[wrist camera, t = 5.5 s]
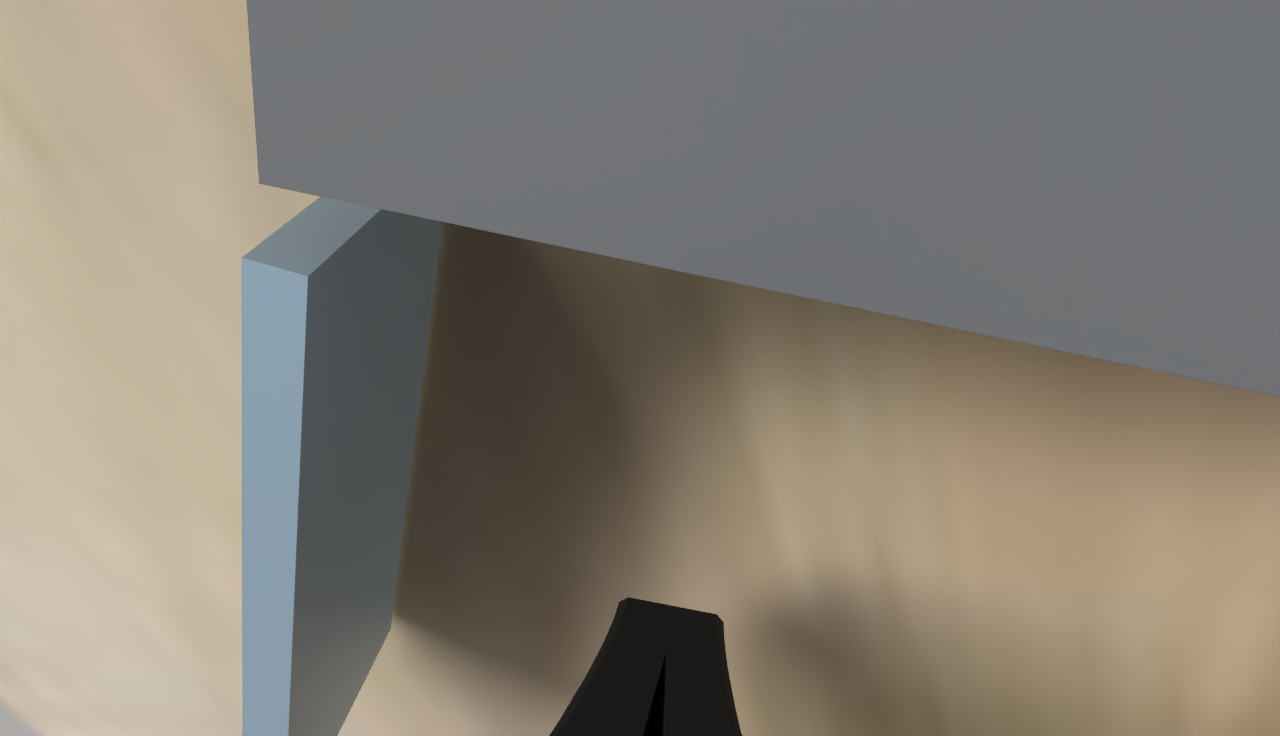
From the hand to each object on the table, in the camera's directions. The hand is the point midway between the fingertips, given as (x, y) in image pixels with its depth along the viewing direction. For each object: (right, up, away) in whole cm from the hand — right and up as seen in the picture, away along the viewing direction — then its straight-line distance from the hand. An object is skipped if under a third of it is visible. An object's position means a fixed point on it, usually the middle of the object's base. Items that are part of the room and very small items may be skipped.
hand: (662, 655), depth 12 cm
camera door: (-4, +3, +1) cm, 5 cm away
